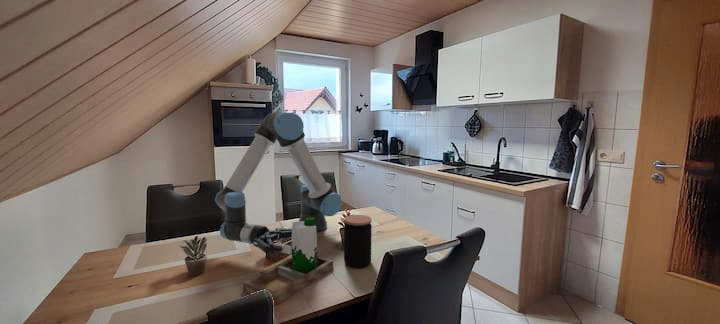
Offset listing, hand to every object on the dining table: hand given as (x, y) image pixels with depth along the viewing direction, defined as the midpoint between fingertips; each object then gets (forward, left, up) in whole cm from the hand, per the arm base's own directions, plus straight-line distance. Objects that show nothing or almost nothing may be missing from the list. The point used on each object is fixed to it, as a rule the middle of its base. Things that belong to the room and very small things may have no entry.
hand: (301, 243), depth 110 cm
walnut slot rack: (+6, +1, -11) cm, 13 cm away
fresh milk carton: (-1, +1, -11) cm, 11 cm away
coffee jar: (-17, +14, -11) cm, 24 cm away
